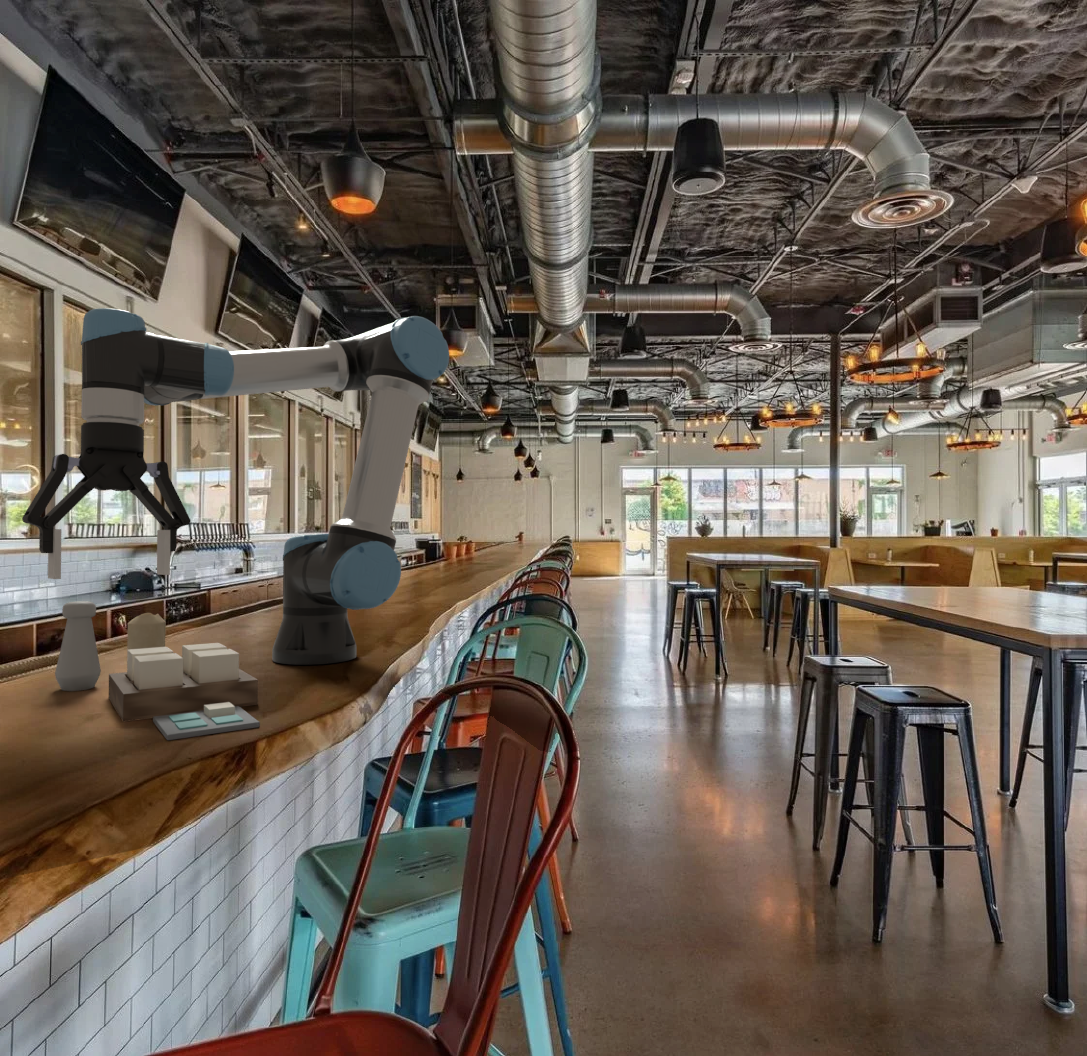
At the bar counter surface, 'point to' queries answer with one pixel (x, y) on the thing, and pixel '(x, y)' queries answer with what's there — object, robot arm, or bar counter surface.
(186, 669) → the back left button
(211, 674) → the button
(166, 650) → the button
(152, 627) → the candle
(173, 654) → the button
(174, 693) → the button board
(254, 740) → the bar counter surface
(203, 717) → the card
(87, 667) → the salt shaker
